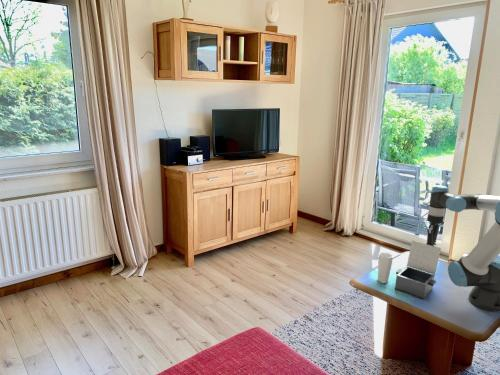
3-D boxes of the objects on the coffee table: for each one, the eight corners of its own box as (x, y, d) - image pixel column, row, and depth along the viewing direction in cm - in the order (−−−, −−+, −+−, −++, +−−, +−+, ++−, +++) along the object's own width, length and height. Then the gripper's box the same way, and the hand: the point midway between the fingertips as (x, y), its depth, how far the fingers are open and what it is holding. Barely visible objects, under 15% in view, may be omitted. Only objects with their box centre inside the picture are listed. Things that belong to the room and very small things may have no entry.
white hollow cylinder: (390, 285, 191) (394, 258, 187) (376, 283, 192) (380, 257, 188) (388, 278, 197) (391, 253, 194) (375, 277, 199) (378, 251, 195)
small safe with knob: (436, 290, 186) (439, 276, 184) (427, 301, 176) (430, 286, 174) (401, 278, 198) (403, 265, 196) (390, 287, 188) (392, 273, 186)
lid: (434, 274, 186) (436, 273, 188) (440, 248, 184) (442, 247, 186) (406, 265, 195) (408, 265, 197) (412, 240, 193) (413, 240, 195)
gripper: (432, 210, 199) (425, 250, 205) (424, 215, 190) (417, 257, 196) (447, 213, 194) (440, 254, 200) (439, 219, 185) (432, 261, 191)
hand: (429, 256), depth 198 cm, fingers closed
